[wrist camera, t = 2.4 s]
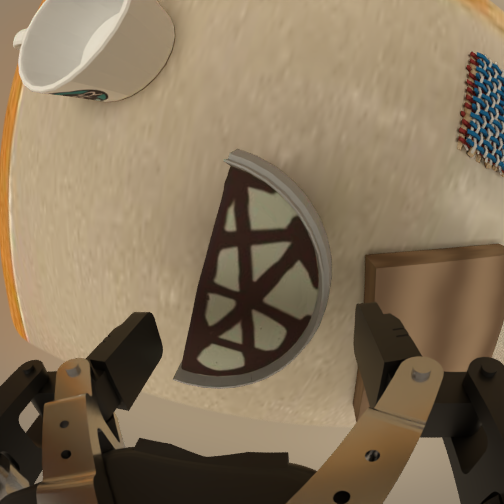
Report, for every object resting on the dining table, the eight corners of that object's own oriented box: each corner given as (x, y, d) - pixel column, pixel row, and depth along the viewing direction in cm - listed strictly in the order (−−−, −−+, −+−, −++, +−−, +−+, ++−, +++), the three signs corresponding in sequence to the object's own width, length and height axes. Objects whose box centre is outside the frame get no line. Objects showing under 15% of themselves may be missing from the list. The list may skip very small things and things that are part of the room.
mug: (196, 1, 16) (158, -50, 8) (157, 111, 19) (95, 91, 12) (81, 13, 17) (31, -11, 9) (49, 104, 20) (-11, 98, 12)
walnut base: (498, 243, 18) (517, 253, 16) (464, 380, 23) (474, 396, 20) (365, 254, 21) (376, 268, 18) (352, 403, 25) (356, 424, 22)
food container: (285, 327, 23) (279, 419, 14) (214, 304, 23) (171, 386, 14) (339, 182, 19) (384, 198, 10) (257, 155, 19) (227, 145, 10)
